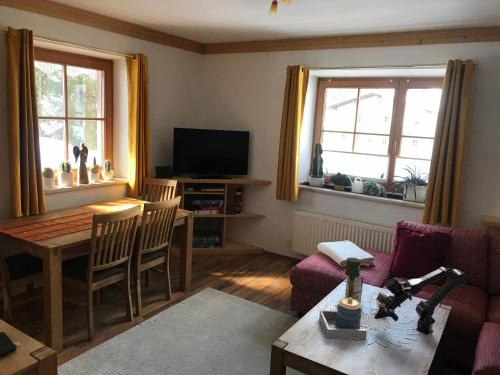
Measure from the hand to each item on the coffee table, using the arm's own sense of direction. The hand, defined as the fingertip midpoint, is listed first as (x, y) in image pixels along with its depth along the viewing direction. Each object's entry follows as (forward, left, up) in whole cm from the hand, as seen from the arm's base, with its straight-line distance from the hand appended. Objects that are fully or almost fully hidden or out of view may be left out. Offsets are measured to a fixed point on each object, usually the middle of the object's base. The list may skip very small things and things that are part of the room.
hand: (374, 318), depth 212 cm
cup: (+11, -21, -6) cm, 25 cm away
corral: (+11, +14, -6) cm, 18 cm away
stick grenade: (+23, -9, -6) cm, 25 cm away
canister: (+9, +11, -7) cm, 16 cm away
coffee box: (+28, -20, -6) cm, 35 cm away
